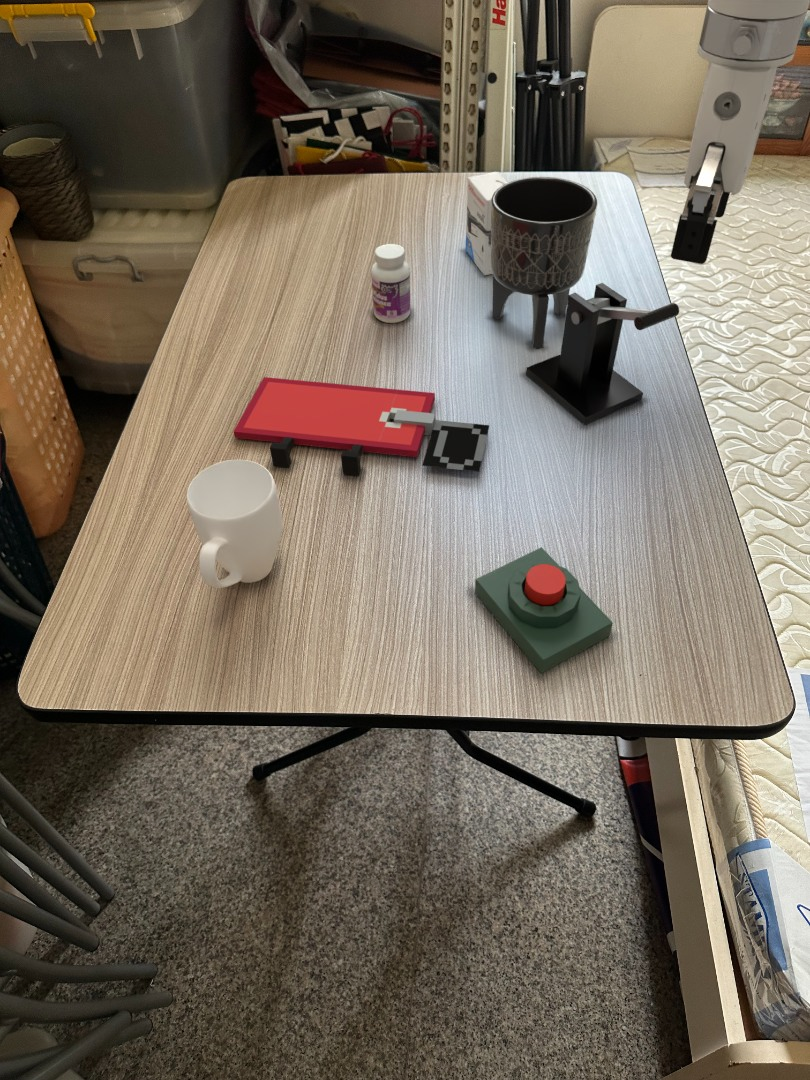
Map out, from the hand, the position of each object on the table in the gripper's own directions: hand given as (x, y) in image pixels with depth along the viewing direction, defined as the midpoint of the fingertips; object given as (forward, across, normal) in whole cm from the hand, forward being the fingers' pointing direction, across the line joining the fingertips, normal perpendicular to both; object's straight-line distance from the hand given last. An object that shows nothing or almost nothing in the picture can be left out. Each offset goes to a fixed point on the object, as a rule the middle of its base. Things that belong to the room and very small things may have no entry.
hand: (697, 236), depth 76 cm
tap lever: (+12, +2, +6) cm, 14 cm away
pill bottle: (+24, +12, +39) cm, 48 cm away
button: (+21, -31, +3) cm, 38 cm away
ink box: (+24, +31, +32) cm, 50 cm away
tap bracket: (+24, +5, +9) cm, 26 cm away
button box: (+24, -31, +3) cm, 40 cm away
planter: (+24, +16, +20) cm, 35 cm away
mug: (+24, -39, +32) cm, 56 cm away
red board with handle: (+24, -14, +31) cm, 42 cm away
